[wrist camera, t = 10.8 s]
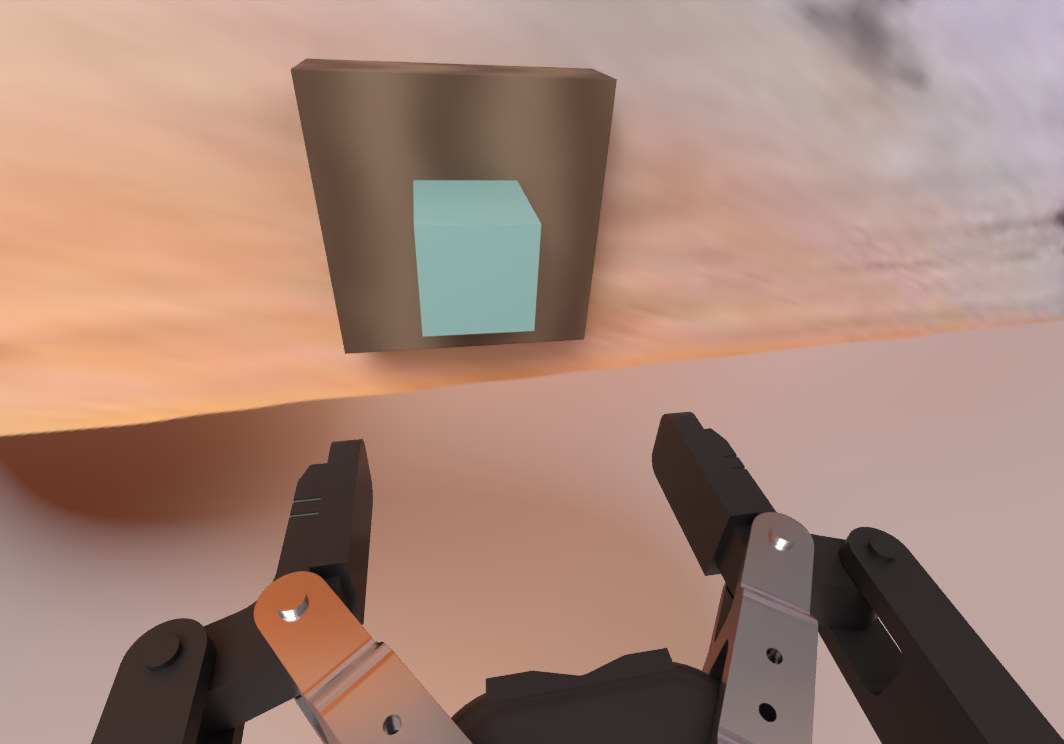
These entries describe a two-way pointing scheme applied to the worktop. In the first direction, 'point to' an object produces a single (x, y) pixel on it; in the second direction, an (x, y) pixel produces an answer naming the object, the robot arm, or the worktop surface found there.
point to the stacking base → (450, 154)
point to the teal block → (475, 256)
